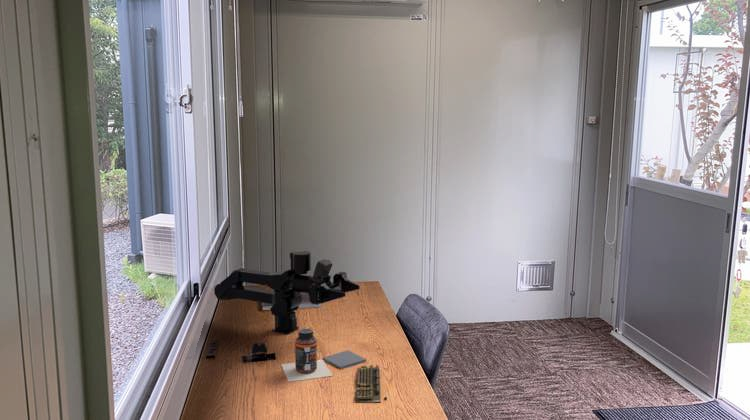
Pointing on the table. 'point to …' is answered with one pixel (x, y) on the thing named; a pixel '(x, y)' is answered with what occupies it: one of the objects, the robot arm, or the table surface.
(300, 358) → the supplement bottle
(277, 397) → the table surface
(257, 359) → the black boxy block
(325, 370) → the card
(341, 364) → the slate coaster
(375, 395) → the keyboard
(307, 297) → the picture frame
